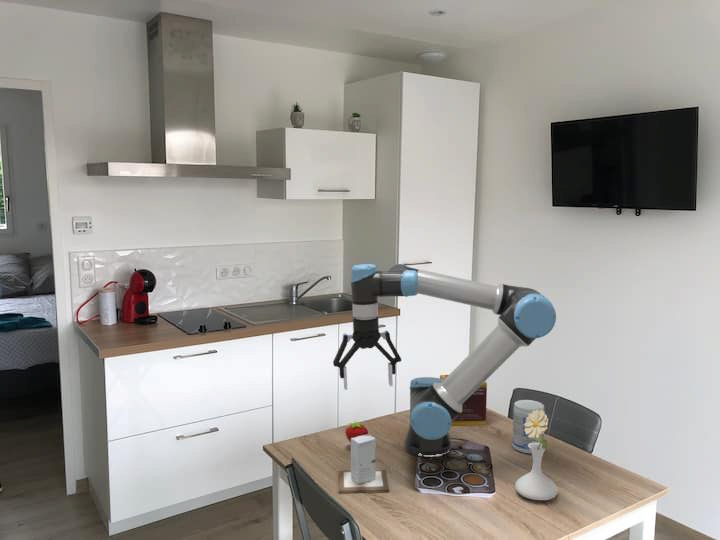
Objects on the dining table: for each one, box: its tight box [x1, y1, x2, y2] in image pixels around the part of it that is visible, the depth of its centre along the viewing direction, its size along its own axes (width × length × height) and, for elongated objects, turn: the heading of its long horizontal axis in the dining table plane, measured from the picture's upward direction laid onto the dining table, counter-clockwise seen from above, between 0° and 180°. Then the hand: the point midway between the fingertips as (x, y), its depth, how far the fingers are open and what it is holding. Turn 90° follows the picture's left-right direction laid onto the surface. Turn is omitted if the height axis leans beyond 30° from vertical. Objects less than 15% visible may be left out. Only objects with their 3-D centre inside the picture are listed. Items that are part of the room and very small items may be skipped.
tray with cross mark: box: [338, 469, 390, 494], centre depth 172 cm, size 14×12×1 cm
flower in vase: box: [514, 410, 559, 501], centre depth 162 cm, size 13×11×25 cm
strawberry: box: [345, 421, 369, 444], centre depth 194 cm, size 6×8×10 cm
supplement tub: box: [511, 399, 545, 454], centre depth 193 cm, size 10×10×15 cm
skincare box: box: [350, 433, 377, 484], centre depth 171 cm, size 6×4×12 cm
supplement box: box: [439, 374, 488, 427], centre depth 217 cm, size 10×15×16 cm
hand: (368, 386), depth 180 cm, fingers open, 13 cm apart
